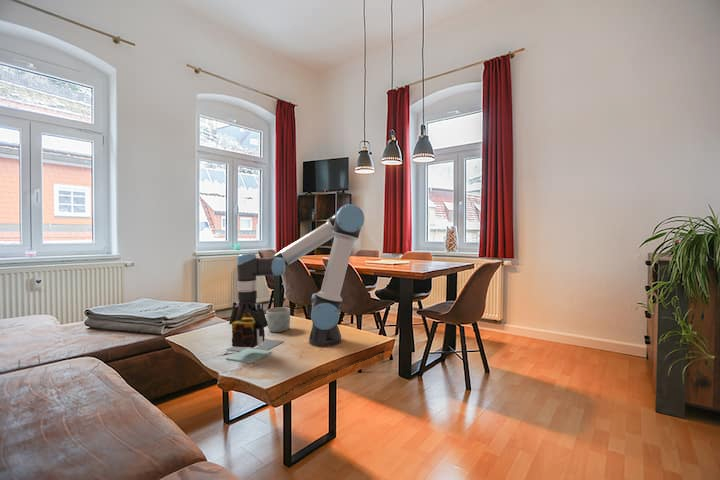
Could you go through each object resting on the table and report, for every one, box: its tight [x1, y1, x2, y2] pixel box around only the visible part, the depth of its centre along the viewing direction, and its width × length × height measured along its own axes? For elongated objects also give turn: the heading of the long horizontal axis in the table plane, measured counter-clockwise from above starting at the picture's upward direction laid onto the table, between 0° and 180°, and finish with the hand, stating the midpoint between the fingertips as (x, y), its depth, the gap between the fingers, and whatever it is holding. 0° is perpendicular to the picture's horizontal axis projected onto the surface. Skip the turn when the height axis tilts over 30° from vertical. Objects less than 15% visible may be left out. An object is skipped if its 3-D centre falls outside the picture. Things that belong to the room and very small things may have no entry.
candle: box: [231, 317, 266, 348], centre depth 150 cm, size 10×10×10 cm
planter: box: [265, 306, 291, 333], centre depth 189 cm, size 12×12×11 cm
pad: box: [226, 348, 272, 364], centre depth 150 cm, size 13×13×1 cm
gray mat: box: [226, 338, 285, 353], centre depth 164 cm, size 18×18×1 cm
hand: (248, 342), depth 150 cm, fingers closed on candle, 11 cm apart
